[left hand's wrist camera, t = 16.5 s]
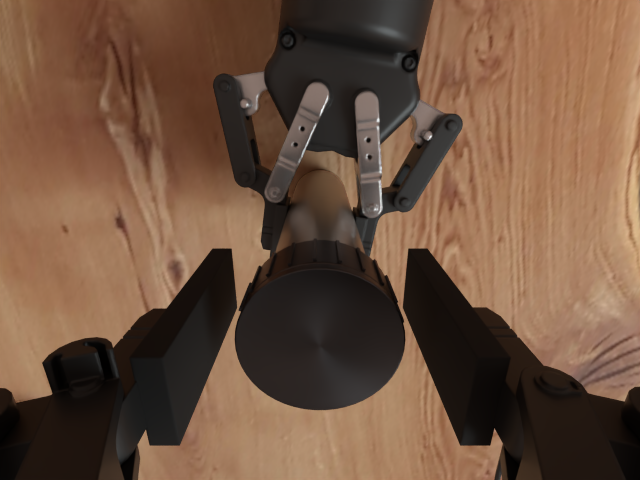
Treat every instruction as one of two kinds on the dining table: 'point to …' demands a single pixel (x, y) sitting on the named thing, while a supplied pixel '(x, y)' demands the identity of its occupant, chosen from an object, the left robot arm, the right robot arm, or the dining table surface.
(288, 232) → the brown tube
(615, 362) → the dining table surface
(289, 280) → the lid
